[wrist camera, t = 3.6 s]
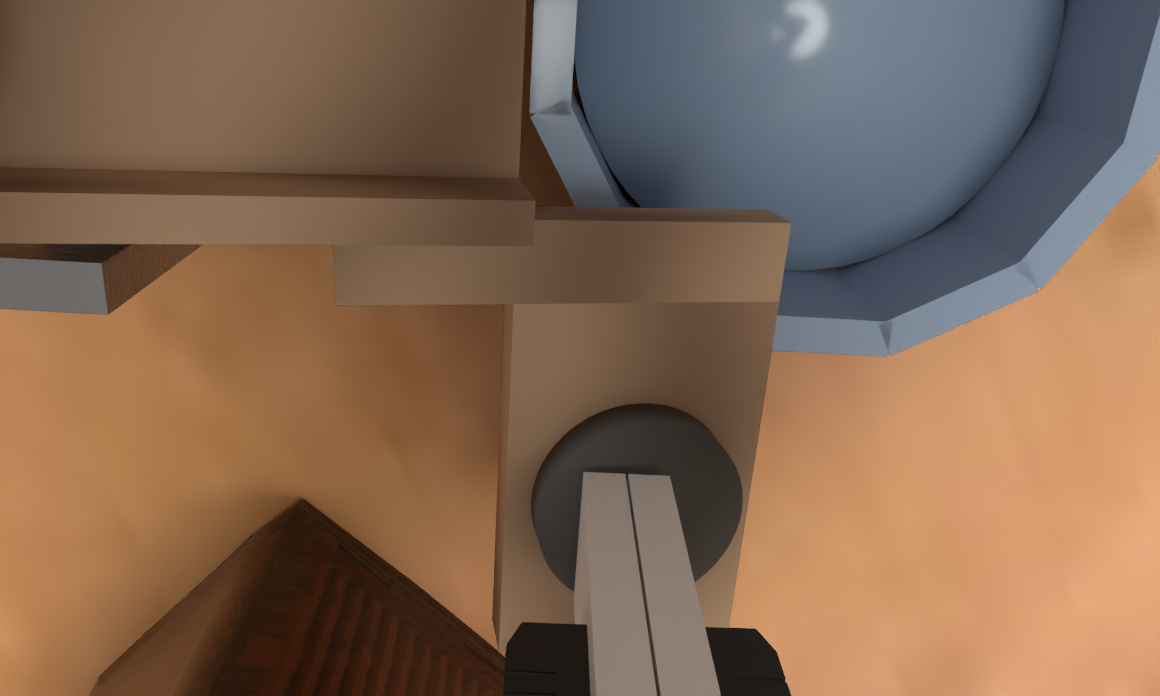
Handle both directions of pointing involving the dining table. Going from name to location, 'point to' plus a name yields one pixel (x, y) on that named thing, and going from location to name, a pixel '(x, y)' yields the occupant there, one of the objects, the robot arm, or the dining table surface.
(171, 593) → the dining table surface
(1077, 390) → the dining table surface
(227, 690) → the brown manual coffee grinder
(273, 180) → the lever
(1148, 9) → the bowl
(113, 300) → the stand
